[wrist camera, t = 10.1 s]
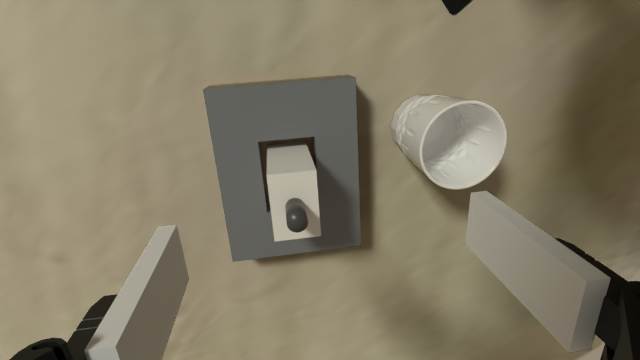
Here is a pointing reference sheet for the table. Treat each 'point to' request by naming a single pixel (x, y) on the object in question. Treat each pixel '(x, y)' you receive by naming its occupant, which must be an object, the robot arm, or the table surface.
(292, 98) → the socket box
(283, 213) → the plug
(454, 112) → the white cup
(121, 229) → the table surface
